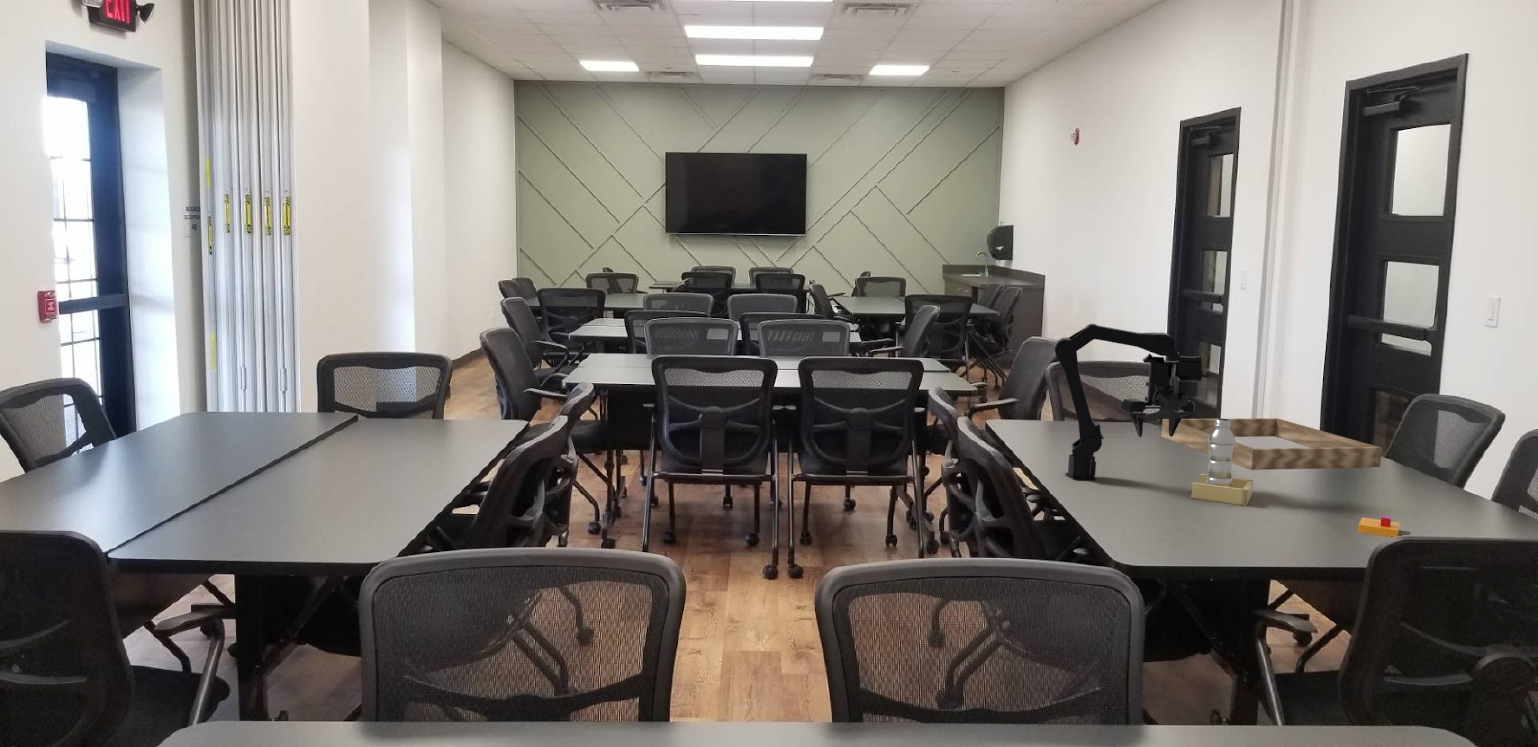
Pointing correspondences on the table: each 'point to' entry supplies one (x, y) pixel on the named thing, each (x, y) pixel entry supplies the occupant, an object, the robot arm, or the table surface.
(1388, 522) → the orange block
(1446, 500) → the table surface
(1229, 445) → the plastic bottle
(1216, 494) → the bay
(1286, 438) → the frame
